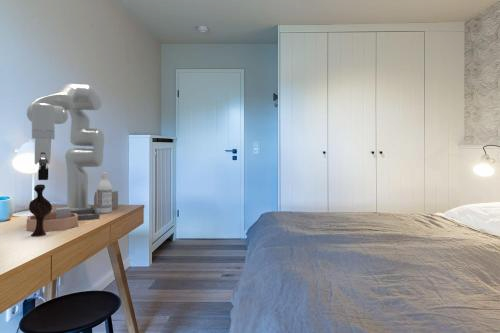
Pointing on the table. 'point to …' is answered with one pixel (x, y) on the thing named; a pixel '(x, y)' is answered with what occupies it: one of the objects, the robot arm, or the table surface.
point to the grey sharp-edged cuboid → (63, 213)
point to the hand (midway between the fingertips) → (43, 178)
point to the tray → (85, 217)
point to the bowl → (54, 223)
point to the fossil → (114, 200)
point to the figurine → (39, 210)
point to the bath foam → (104, 195)
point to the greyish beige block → (46, 217)
